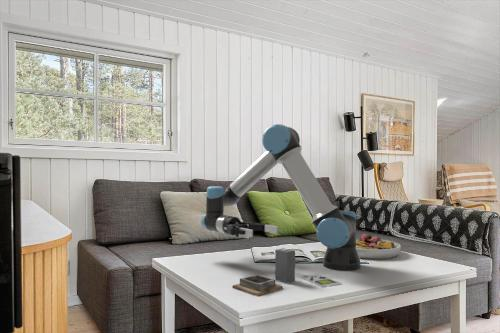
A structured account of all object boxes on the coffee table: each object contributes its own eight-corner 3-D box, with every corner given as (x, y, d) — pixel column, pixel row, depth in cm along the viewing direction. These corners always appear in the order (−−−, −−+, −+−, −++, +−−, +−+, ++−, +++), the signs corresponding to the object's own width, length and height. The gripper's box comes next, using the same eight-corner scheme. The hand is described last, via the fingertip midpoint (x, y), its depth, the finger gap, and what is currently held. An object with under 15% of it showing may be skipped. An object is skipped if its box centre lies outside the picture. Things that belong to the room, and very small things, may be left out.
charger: (283, 277, 149) (283, 247, 149) (294, 280, 145) (295, 249, 145) (275, 280, 146) (275, 249, 146) (286, 283, 142) (286, 251, 142)
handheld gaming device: (317, 273, 155) (342, 283, 141) (317, 274, 155) (342, 285, 141) (298, 275, 151) (322, 286, 137) (298, 277, 151) (322, 288, 137)
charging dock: (257, 281, 145) (257, 272, 145) (282, 288, 136) (282, 279, 136) (232, 287, 136) (232, 278, 137) (257, 296, 128) (257, 286, 128)
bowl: (405, 262, 175) (406, 244, 175) (335, 259, 181) (335, 241, 181) (395, 249, 205) (395, 233, 205) (335, 246, 211) (335, 231, 211)
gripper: (250, 231, 177) (286, 238, 162) (204, 237, 160) (240, 245, 144) (250, 214, 177) (287, 219, 162) (205, 218, 160) (240, 224, 144)
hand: (265, 231), depth 153 cm, fingers open, 13 cm apart
